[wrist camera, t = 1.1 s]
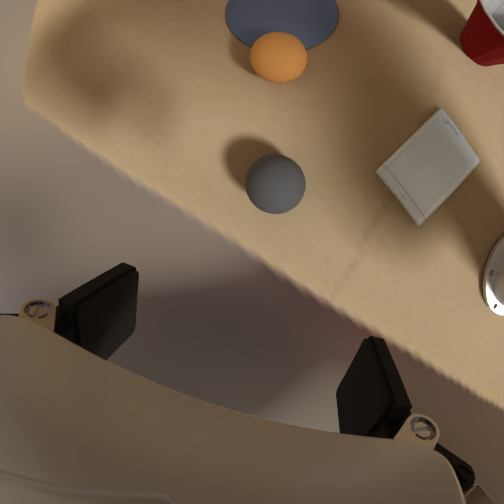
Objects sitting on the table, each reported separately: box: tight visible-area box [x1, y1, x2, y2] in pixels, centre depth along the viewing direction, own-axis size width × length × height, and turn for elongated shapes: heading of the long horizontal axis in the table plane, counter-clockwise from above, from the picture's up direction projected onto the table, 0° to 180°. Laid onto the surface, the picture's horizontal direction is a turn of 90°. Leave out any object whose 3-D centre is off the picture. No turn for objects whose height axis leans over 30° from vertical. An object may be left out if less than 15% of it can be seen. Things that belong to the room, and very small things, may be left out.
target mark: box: [226, 0, 338, 49], centre depth 25 cm, size 14×14×1 cm
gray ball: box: [246, 155, 305, 214], centre depth 28 cm, size 6×6×6 cm
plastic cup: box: [460, 0, 504, 66], centre depth 14 cm, size 11×11×12 cm
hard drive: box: [375, 108, 480, 226], centre depth 27 cm, size 2×8×12 cm
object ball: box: [250, 32, 308, 83], centre depth 24 cm, size 6×6×6 cm
